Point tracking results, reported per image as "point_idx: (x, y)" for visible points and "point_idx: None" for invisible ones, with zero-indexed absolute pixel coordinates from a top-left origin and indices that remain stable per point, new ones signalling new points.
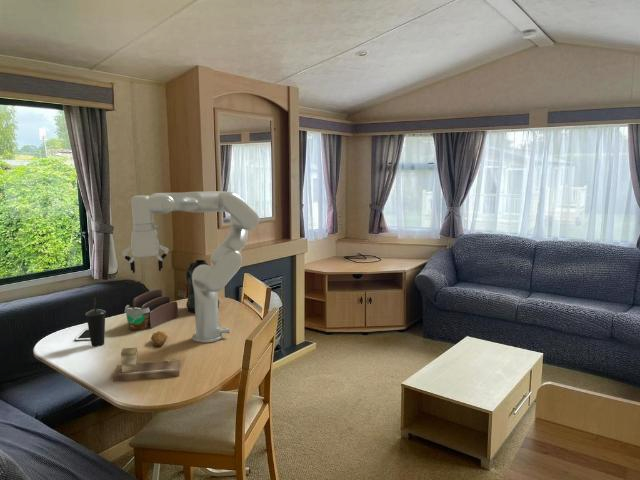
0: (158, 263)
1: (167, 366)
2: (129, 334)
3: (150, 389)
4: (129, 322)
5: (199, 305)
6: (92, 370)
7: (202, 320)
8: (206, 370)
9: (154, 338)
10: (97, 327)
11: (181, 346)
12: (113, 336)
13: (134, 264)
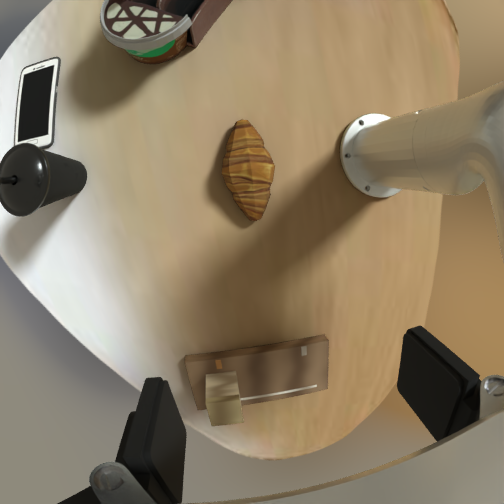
0: (430, 430)
1: (303, 373)
2: (138, 93)
3: (277, 425)
4: (126, 50)
5: (429, 186)
6: (129, 349)
7: (403, 187)
8: (372, 358)
9: (239, 195)
10: (53, 201)
11: (316, 213)
12: (96, 110)
13: (168, 461)
